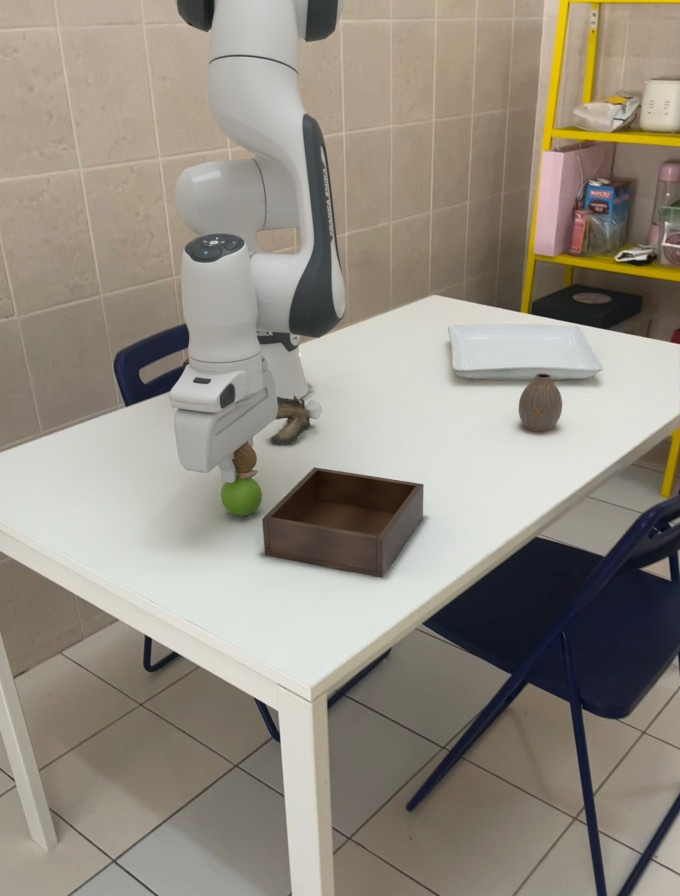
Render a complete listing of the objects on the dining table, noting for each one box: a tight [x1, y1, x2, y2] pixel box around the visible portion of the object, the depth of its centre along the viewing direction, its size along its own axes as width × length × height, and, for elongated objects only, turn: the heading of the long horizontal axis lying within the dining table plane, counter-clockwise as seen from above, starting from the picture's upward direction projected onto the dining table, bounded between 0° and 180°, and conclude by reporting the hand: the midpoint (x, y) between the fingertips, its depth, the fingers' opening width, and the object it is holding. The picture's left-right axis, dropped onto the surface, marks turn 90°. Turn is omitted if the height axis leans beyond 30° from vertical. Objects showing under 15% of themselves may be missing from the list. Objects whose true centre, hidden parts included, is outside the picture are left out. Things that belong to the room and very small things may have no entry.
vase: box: [518, 373, 563, 432], centre depth 141 cm, size 7×7×9 cm
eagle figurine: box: [270, 395, 323, 446], centre depth 140 cm, size 8×7×9 cm
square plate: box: [447, 323, 604, 381], centre depth 170 cm, size 27×27×4 cm
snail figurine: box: [217, 443, 263, 517], centre depth 115 cm, size 5×6×12 cm
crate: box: [261, 466, 425, 578], centre depth 111 cm, size 16×16×5 cm
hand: (236, 475), depth 115 cm, fingers closed on snail figurine, 2 cm apart
